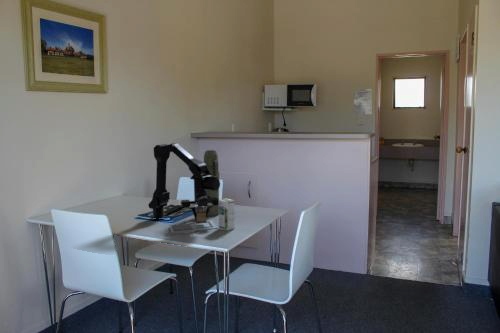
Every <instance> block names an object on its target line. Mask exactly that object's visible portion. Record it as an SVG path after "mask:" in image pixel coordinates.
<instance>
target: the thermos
mask: <svg viewBox="0 0 500 333" xmlns="http://www.w3.org/2000/svg"><path fill="white" fill-rule="evenodd" d="M203 163H205V164H206V165H207V168H208V170H209V171H210V173H211V175H212V176H217V179H218V180H219V182H220V180H221V179H220V171H219V155H218V153H217V150H213V149H208V150H205V152H204V153H203ZM202 175H204V174H202ZM220 183H221V182H220ZM206 195H207V196H211V197H212V198H216V197H217V198H218V199H219V200H220V188H219V189H218V190H217V191H214V190H206ZM212 205H213V204H212ZM203 207H204V211H205V206H203ZM217 216H219V205H213V207H211V208H210V210H209V212H208V215H207V217H217Z"/></svg>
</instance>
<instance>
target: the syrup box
mask: <svg viewBox="0 0 500 333" xmlns="http://www.w3.org/2000/svg"><path fill="white" fill-rule="evenodd" d="M235 220H236V219H235V200H234V199H230V198H221V199H220V198H219V215H218V229H219V230H223V231H226V232H228V231H232V230H235V228H236V227H235Z"/></svg>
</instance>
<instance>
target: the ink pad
mask: <svg viewBox="0 0 500 333" xmlns="http://www.w3.org/2000/svg"><path fill="white" fill-rule="evenodd" d="M168 229H169V230H170V234H171V235H178V234H189V233H196V231H195V229H194V227H193V225H192V224H185V223H183V224H172V225H168Z"/></svg>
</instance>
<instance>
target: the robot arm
mask: <svg viewBox="0 0 500 333" xmlns="http://www.w3.org/2000/svg"><path fill="white" fill-rule="evenodd" d="M171 153H172V154H175V156H176V157H177V158H178V159H180V160H181V161H182V162H184V164H185V165H186V166H188V170H189V171H190V172H191V173H192V176H191V177H189V179H190V180H193V193H194V194H193V196H194V200H191V201H190V199H181V201H180V206H181V208H182V209H183V208H184V209H187V208H188V210H191V212H192V213H193V214H192V215H193V217H194V219H195V220H196V211H197V209H196V207H195V206H197V207H201V206H202V207H204V206H205V212H206V219H208V216H207V215H208V212H209V210H210V208H211V207H213V205H219V200H220V198H219V199H218V198H217V197H216V198H212V197H211V196H207V195H206V190H214V191H217V190H218V189H219V190H220V188H221V187H220V186H221V182H219V180H220V179H219V180H218V179H217V176H212V175H211V173H210V171H209V170H208V168H207V165H206V164H205V163H204V161H201V160H200V159H197V158H195V157H194V156H192V155H191V154H190V153H189V152H188V151H187V150H186V149H185V148H183V147H182V146H181V145H180V143H178V142H174V143H170V144H167V143H161V144H156V145H155V146H154V147H153V156H154V159H155V160H156V176H155V177H156V180H155V185H156V186H155V187H156V188H155V189H154V192H153V193H152V198H151V201H150V202H149V203H148V204H147V205H148V208H149V209H152V216H153V218H156V219H159V218H162V217H163V216H165V212H164V209H165V208H164V207H167V205H168V203H169V201H170V194H171V192H170V191H168V189H167V188H166V187H167V162H168V160H169V158H170V157H171V156H170V155H171ZM203 174H204V175H203ZM212 204H213V205H212ZM156 219H152V221H157V220H156Z"/></svg>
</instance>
